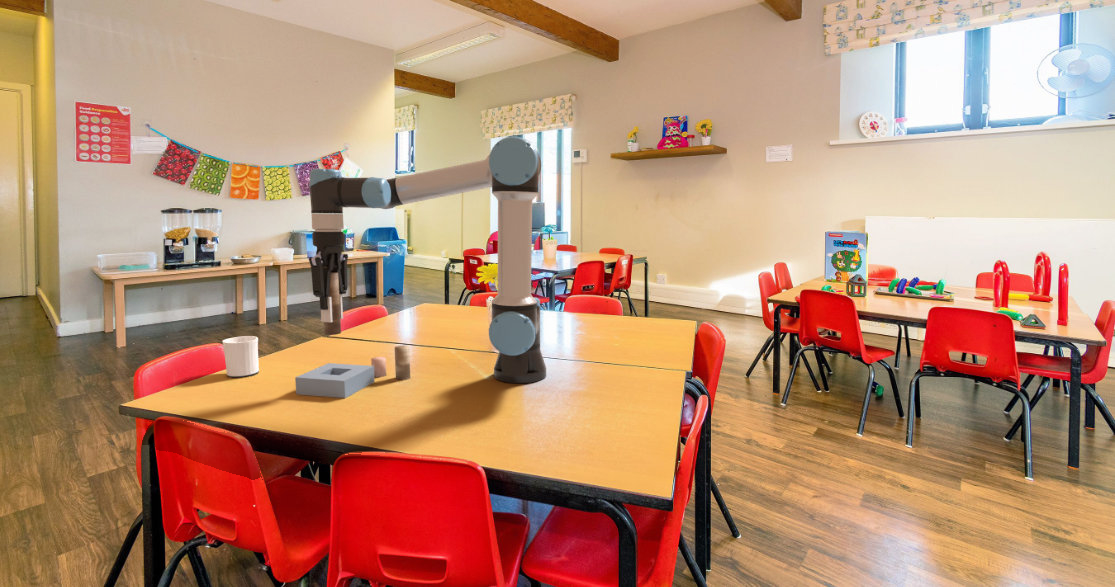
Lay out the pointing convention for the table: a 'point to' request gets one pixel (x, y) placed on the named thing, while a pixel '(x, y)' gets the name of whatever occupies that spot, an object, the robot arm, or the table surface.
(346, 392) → the socket
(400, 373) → the pin medium
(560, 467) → the table surface
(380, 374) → the pin short
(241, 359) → the mug
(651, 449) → the table surface
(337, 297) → the pin long
